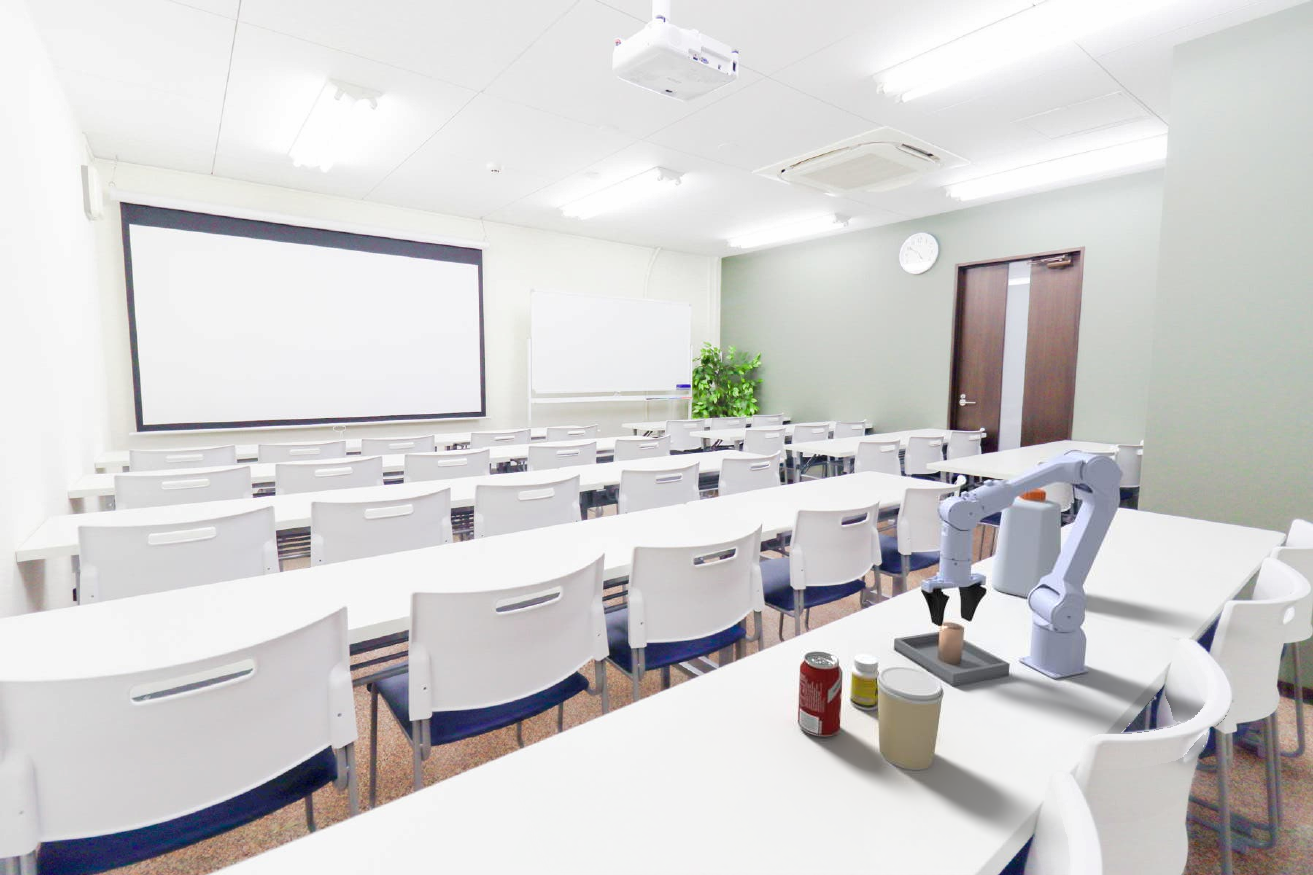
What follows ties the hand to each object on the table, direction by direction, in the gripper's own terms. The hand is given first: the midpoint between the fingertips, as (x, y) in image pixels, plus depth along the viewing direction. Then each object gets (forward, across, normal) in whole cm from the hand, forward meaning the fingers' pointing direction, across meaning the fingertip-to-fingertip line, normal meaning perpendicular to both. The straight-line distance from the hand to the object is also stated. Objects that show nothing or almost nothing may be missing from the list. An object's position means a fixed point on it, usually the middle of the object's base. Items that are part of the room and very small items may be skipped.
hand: (951, 621), depth 122 cm
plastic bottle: (+9, -53, -27) cm, 60 cm away
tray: (+9, 0, 0) cm, 9 cm away
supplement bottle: (+9, +27, +8) cm, 30 cm away
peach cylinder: (+8, 0, 0) cm, 8 cm away
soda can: (+9, +39, +12) cm, 42 cm away
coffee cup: (+9, +30, +22) cm, 38 cm away
